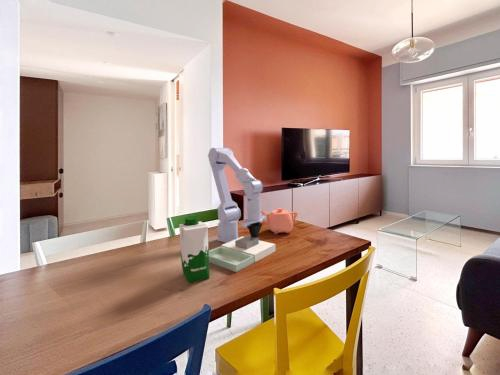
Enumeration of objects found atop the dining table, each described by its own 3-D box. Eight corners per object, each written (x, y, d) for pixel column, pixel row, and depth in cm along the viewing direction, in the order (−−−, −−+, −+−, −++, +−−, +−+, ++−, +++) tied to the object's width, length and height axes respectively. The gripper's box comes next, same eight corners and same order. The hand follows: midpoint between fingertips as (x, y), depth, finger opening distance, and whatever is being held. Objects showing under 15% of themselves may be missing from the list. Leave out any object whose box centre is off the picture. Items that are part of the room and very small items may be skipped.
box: (202, 260, 105) (201, 253, 105) (220, 252, 113) (220, 246, 113) (236, 272, 94) (236, 265, 94) (254, 262, 102) (254, 256, 101)
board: (221, 251, 113) (221, 245, 113) (243, 242, 124) (242, 236, 124) (255, 262, 102) (254, 254, 102) (275, 251, 113) (275, 244, 112)
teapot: (257, 228, 145) (257, 206, 144) (293, 226, 148) (293, 204, 146) (262, 236, 132) (261, 212, 130) (301, 234, 135) (301, 210, 133)
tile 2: (241, 243, 114) (241, 238, 114) (247, 241, 117) (247, 235, 117) (252, 246, 110) (252, 240, 110) (258, 243, 113) (258, 238, 113)
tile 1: (235, 246, 111) (235, 240, 110) (241, 243, 114) (241, 238, 114) (246, 249, 107) (246, 243, 107) (252, 246, 110) (252, 240, 110)
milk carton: (204, 268, 98) (201, 214, 95) (213, 278, 90) (210, 220, 87) (180, 274, 93) (176, 218, 91) (186, 285, 86) (183, 224, 83)
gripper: (250, 213, 106) (251, 246, 108) (271, 206, 117) (271, 236, 119) (237, 211, 110) (238, 243, 112) (258, 205, 121) (259, 234, 123)
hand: (254, 239), depth 116 cm, fingers closed
